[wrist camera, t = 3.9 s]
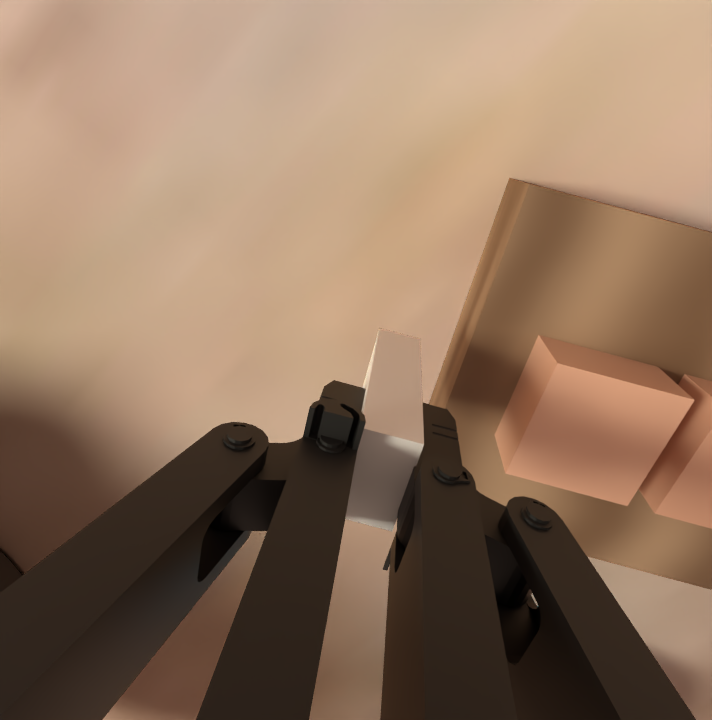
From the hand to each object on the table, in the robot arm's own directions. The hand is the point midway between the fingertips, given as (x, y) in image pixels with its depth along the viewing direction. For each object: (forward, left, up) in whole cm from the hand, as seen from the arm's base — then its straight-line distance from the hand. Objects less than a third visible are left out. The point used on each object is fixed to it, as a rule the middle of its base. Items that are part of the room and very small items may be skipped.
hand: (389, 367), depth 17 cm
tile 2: (+7, 0, -1) cm, 7 cm away
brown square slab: (+10, 0, -5) cm, 11 cm away
